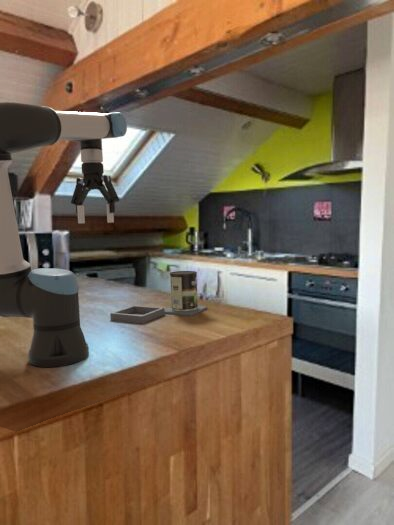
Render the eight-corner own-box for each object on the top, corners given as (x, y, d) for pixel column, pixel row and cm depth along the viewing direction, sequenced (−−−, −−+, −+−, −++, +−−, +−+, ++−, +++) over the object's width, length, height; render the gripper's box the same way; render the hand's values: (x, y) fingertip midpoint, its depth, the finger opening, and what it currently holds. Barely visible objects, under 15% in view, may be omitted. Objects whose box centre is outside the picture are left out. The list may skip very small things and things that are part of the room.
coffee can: (200, 306, 167) (199, 270, 165) (195, 311, 157) (194, 274, 155) (174, 305, 169) (173, 270, 167) (168, 311, 159) (166, 274, 157)
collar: (142, 323, 146) (142, 316, 145) (110, 320, 152) (110, 313, 152) (164, 314, 158) (164, 307, 158) (134, 311, 164) (133, 305, 164)
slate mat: (191, 315, 154) (191, 313, 154) (161, 313, 160) (161, 311, 160) (207, 308, 166) (207, 306, 166) (178, 306, 172) (178, 304, 172)
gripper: (127, 160, 148) (130, 221, 150) (73, 166, 160) (77, 223, 162) (113, 158, 142) (116, 222, 144) (58, 165, 153) (62, 224, 156)
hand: (95, 223), depth 153 cm, fingers open, 13 cm apart
